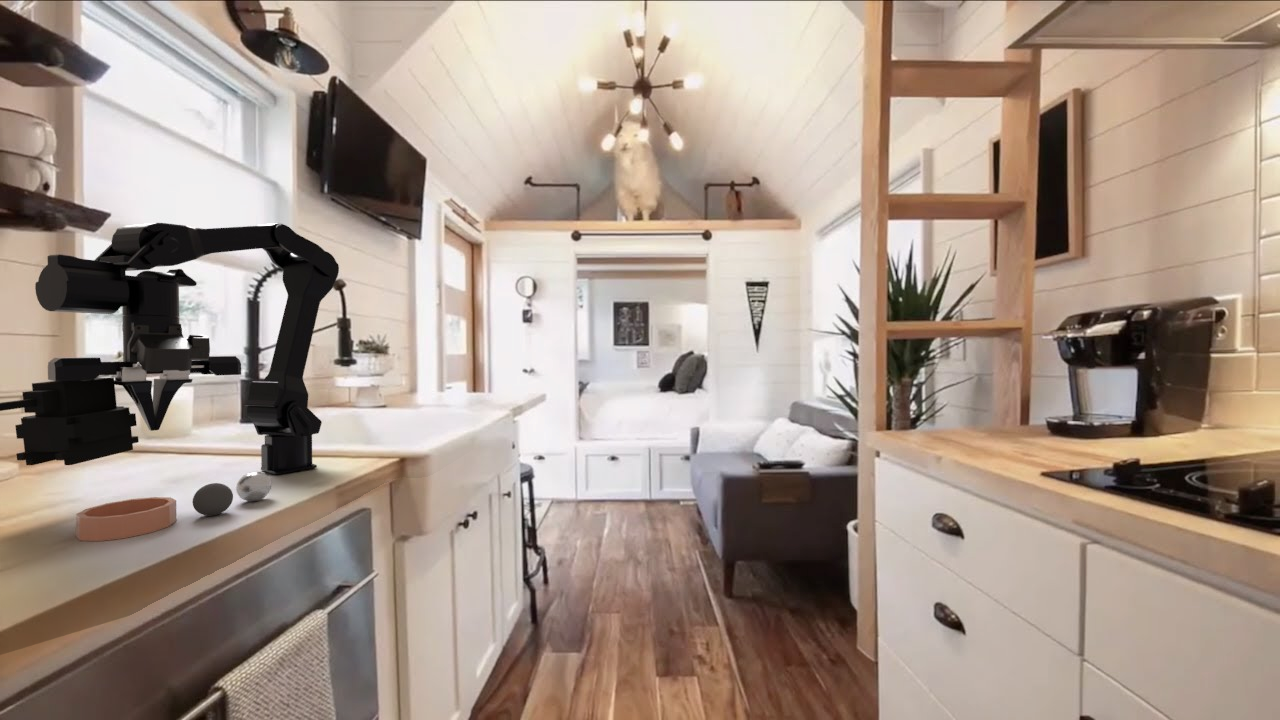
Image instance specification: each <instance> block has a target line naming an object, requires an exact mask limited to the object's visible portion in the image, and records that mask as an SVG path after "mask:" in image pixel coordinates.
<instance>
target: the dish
mask: <svg viewBox="0 0 1280 720" xmlns="http://www.w3.org/2000/svg"><path fill="white" fill-rule="evenodd" d="M177 514H178V513H177V500H176V499H174V498H173V497H171V496H170V497H163V496H151V497H142V498H131V499H125V500H124V499H123V500H119V501H112V502H108V503H107V502H106V503H103V504H99V505H96V506H91V507H88V508H85V509H83V510H82V511H79V512H77V513H76V514H75V537H76V538H77V539H78V540H79V541H84V542H85V541H86V542H104V541H110V540H111V541H112V540H119V539H127V538H131V537H136V536H141V535H145V534H151V533H154V532H157V531H159V530H162V529H165V528H169V527H171V526H172V525H173V524H174V523H176V522H177V521H178V520H177V519H178V518H177Z"/></svg>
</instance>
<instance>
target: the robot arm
mask: <svg viewBox="0 0 1280 720" xmlns="http://www.w3.org/2000/svg"><path fill="white" fill-rule="evenodd" d="M258 249H262V250H264V252H266V254H267V256H268V257H269V259H270V260H271V262H272V263H273V264H274V265H275V266H276V267H278V268H279V269H281V270H282V283H283V286H284V288H285V291H286V293H287V299H286V303H285V306H284V310H283V316H282V319H281V323H280V327H279V331H278V335H277V340H276V344H275V346H274V352H273V355H272V356H273V357H272V360H271V363H270V368H269V372H268V374H267V375H266V376H265V377H264V378H263V380H262V381H252V382H251V383H250V385H249V388H248V390H249V391H248V392H249V393H248V397H247V399H246V401H245V402H244V403H243V405H244V406H247V407H246V415H247V418H249V419H250V421H251V423H252V424H253V425H254V428H255V431H256V433H257V435H258V436H264V444H261V446H260V447H261V451H260V452H261V467H260V471H264V472H267V473H270V474H272V475H282V474H288V473H295V472H299V471H305V470H311V469H316V468H317V467H318V465H317V464H314V463H313V435H315V434H316V435H317V434H319V433H320V430H321V427H322V424H323V423H322V422H323V421H322V420H321V419H320V418H319V417H318V416H316V414H314V412H312V411H311V410H310V409H309V407H308V406H309V392H308V389H307V387H306V384H305V382H304V381H305V380H304V373H305V370H306V364H307V362H308V361H307V360H308V355H309V353H310V348H311V343H312V338H313V335H314V334H313V333H314V331H315V330H314V329H315V326H316V320H317V317H318V313H319V308H320V304H321V302H322V300H323V299H325V297H326V296H327V295H328V294H329V293H330V292H331V291H332V290H333V288H334V285H335V283H336V280H337V279H338V276H339V272H340V266H339V263H337V261H336V259H335V257H334V256H333V254H331V253H330V252H328V251H326V250H324V249H323V248H322V247H321V246H320V245H319V244H317V243H315V242H313V241H312V240H309V239H308V238H306V237H304V236H301V235H300V234H298V233H297V232H296V231H295V230H293V228H291V227H290V226H288V225H286V224H284V223H280V222H275V223H265V224H262V223H261V224H258V225H248V226H233V227H217V228H216V227H215V228H199V227H192V226H189V225H183V224H173V223H165V222H154V223H153V222H151V223H141V224H132V225H131V224H129V225H125V226H124V225H123V226H121V227H119V228H118V227H117V228H116V230H115V232H114V233H113V235H112V239H111V244H109V246H107V247H106V249H105V250H104V251H102V252H101V253H100V254H99V255H98V256H97V257H96V258H95V259H88V258H79V257H76V256H73V255H69V254H68V255H67V254H62V253H61V254H49V255H48V256H47V264H46V265H45V267H43V268H42V270H41V271H40V274H39V277H38V280H37V281H36V282H35V285H34V286H35V287H34V289H35V295H36V299H37V301H38V302H39V305H40V306H41V307H42V309H44V310H45V311H48V312H57V313H76V314H77V313H80V314H97V315H98V314H99V315H100V314H101V315H112V314H116V313H117V311H119V309H120V308H122V327H121V328H122V348H123V349H122V350H123V351H122V353H123V354H122V361H102V359H101V357H92V356H91V357H88V356H87V357H81V356H80V357H53V358H52V359H51V360H50V361H48V363H47V364H48V365H47V380H49V381H76V380H94V379H95V378H99V377H100V376H112V378H114V381H113V384H114V385H115V386H121V387H123V388H124V390H125V391H126V392H127V394H128V395H129V397H130V398H131V399H132V401H133V402H134V404H135V406H136V408H137V409H138V411H139V413H140V415H141V416H142V419H143V421H144V423H145V425H146V426H147V428H148V431H150V432H152V431H159V430H160V429H161V426H162V425H163V421H164V418H165V416H166V414H167V411H168V409H169V407H170V405H171V402H172V400H173V399H174V397H175V395H176V394H177V392H178V391H179V390H180V388H181V387H182V386H183V385H184V384H189V383H193V378H190V376H189V375H191V374H193V373H199V374H200V375H214V376H217V377H218V376H239V375H240V376H241V375H242V362H241V360H240V359H239V358H238V356H236V355H233V356H232V355H210V352H211V347H210V346H211V345H210V337H209V336H208V335H207V334H189V335H188V337H184V335H183V328H182V323H180V288H184V287H195V286H197V285H198V284H197V283H198V282H197V281H195V279H193V278H192V277H191V276H189V275H188V274H187V273H185V272H184V270H183V269H182V268H174V269H173V268H171V269H169V270H168V271H167V272H161V271H156V270H155V271H153V270H152V271H151V269H154V268H158V267H173V266H177V265H181V264H184V263H188V262H191V261H195V260H198V259H199V258H201V257H203V256H207V255H212V254H218V253H226V252H227V253H229V252H237V251H247V250H248V251H249V250H258ZM132 271H141V272H139V273H138V274H137V275H127V274H126V272H132ZM138 363H139V364H140V365H138ZM134 365H135V366H134ZM147 374H148V375H150V374H152V375H154V374H158V376H159V377H158V378H153V380H148V379H147ZM152 386H153V387H152ZM152 388H153V391H152Z"/></svg>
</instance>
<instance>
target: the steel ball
mask: <svg viewBox="0 0 1280 720" xmlns="http://www.w3.org/2000/svg"><path fill="white" fill-rule="evenodd" d="M272 487H273V482H272V479H271V477H269V475H268V474H266V473H264V472H261V471H252V472H248V473H246V474H245V475H243V476H241V478H240V479H238V481H237V483H236V487H235V488H236V489H235V491H236V493H237V495H238V497H239V498H240V499H241V500H243V501H245V502H246V501H247V502H257V501H260V500H262V499H264V498H265V497H267V495H269V494H270V492H271V490H272Z"/></svg>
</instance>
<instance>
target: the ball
mask: <svg viewBox="0 0 1280 720" xmlns="http://www.w3.org/2000/svg"><path fill="white" fill-rule="evenodd" d="M233 500H234V493H233V491H232V489H231V488H230V487H229V486H228V485H226V484H224V483H218V482H214V483H213V482H212V483H208V484H205V485H204V486H201V487H200V488H199V489H198V490H197V491H196V492H195V493H194V495H193V497H192V506H193V509H194V510H195V511H196V512H197V513H198V514H201V515H203V516H206V517H207V516H210V517H211V516H216V515H219V514H222V513H224V512H225V511H226V510H228V508H229V507H230V506H231V504H232V503H233Z"/></svg>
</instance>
